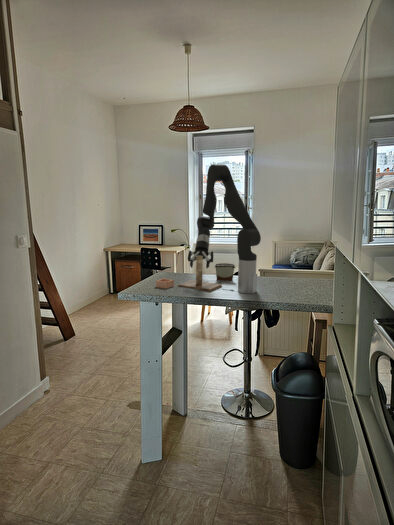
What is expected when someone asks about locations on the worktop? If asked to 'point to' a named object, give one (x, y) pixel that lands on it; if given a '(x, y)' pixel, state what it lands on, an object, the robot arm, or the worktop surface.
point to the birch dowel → (199, 269)
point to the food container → (224, 271)
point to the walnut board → (201, 286)
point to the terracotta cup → (164, 283)
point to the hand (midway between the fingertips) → (199, 267)
